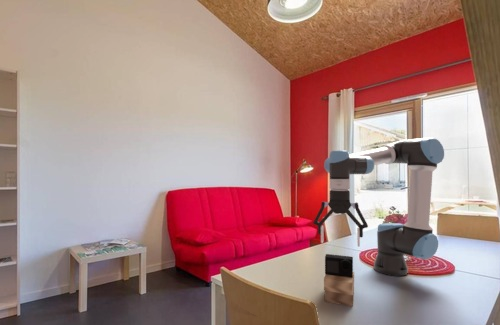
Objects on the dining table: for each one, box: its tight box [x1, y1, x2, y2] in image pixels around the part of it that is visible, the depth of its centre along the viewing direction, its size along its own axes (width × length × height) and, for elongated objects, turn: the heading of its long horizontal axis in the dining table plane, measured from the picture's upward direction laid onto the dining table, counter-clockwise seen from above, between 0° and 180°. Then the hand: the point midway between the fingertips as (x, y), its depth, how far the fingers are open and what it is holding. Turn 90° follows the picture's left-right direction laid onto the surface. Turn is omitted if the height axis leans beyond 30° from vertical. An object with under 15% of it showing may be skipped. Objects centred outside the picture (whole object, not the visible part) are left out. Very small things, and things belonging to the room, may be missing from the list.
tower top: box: [323, 271, 355, 295], centre depth 112 cm, size 10×12×4 cm
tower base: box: [324, 286, 355, 307], centre depth 112 cm, size 10×12×4 cm
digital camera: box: [324, 253, 354, 278], centre depth 112 cm, size 10×5×7 cm, turn 70°
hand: (340, 244), depth 112 cm, fingers open, 13 cm apart
